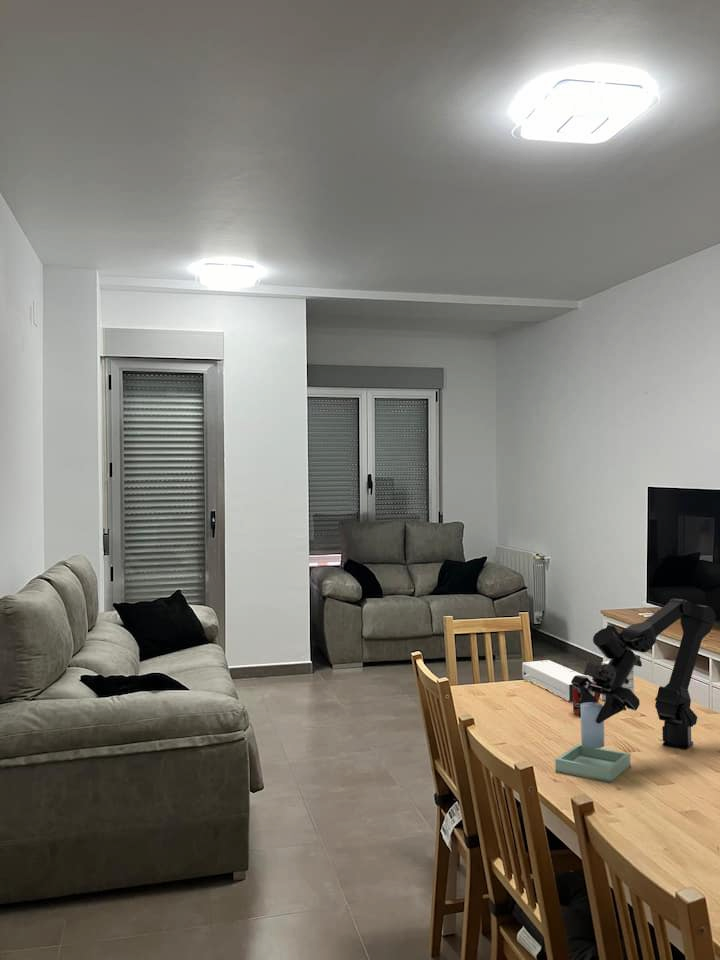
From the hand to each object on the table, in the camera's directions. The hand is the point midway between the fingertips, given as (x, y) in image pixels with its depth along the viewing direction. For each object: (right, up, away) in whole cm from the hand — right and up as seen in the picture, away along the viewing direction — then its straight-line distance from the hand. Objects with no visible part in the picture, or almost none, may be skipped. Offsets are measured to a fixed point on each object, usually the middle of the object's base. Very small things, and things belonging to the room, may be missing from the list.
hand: (588, 719), depth 211 cm
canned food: (+12, -12, +47) cm, 50 cm away
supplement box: (+26, -12, +61) cm, 67 cm away
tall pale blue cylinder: (+1, -7, +1) cm, 7 cm away
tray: (+1, -13, +1) cm, 13 cm away
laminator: (+11, -12, +78) cm, 80 cm away
